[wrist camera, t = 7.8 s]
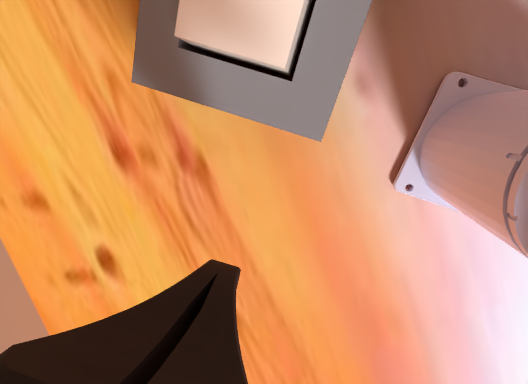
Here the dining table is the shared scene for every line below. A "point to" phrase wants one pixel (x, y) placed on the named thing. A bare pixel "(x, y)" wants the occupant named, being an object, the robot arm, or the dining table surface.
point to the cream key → (245, 29)
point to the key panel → (250, 81)
